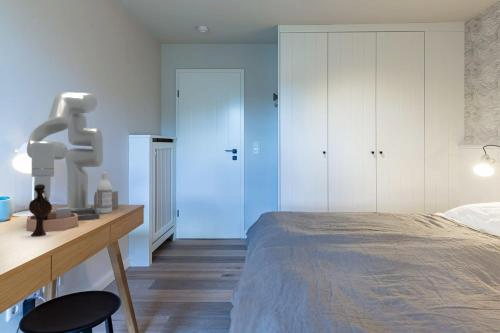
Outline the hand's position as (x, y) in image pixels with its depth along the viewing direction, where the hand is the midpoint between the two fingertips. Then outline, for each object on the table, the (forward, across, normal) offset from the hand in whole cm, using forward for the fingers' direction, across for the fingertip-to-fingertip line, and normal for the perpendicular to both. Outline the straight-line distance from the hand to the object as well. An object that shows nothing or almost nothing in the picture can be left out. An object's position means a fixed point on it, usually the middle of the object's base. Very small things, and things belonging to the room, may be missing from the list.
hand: (42, 218), depth 128 cm
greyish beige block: (+3, 0, 0) cm, 3 cm away
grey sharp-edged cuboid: (+3, 0, +7) cm, 7 cm away
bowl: (+3, +1, +4) cm, 5 cm away
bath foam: (+4, -24, +26) cm, 35 cm away
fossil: (+4, -32, +28) cm, 42 cm away
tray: (+3, -15, +12) cm, 19 cm away
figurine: (+4, +14, 0) cm, 14 cm away
